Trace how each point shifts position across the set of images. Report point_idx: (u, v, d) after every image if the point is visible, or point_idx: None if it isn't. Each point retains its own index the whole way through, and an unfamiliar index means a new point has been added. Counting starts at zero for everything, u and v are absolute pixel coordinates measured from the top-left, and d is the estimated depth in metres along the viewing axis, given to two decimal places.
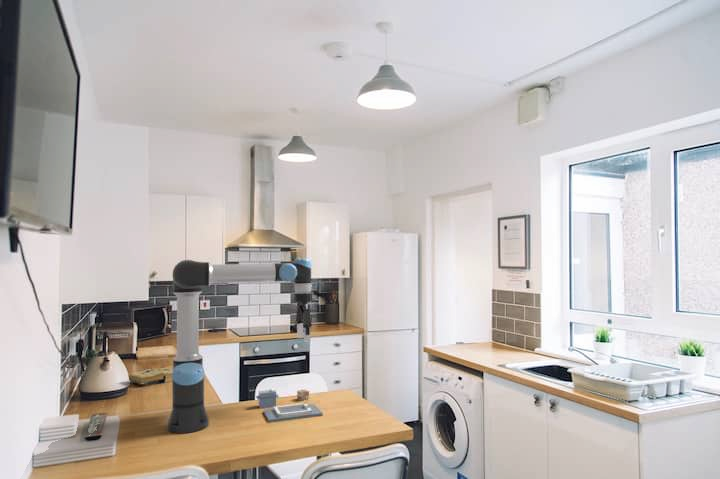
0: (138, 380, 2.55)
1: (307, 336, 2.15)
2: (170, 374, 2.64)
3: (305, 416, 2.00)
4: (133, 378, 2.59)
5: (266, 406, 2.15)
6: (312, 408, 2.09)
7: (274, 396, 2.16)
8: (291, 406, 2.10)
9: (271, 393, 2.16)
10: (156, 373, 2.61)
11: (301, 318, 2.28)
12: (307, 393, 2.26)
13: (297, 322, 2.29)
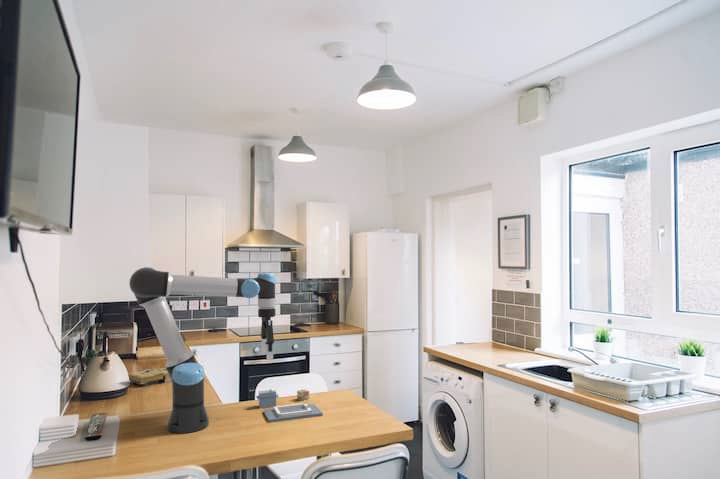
0: (138, 380, 2.55)
1: (270, 353, 2.11)
2: None
3: (305, 416, 2.00)
4: (133, 378, 2.59)
5: (266, 406, 2.15)
6: (312, 408, 2.09)
7: (274, 396, 2.16)
8: (291, 406, 2.10)
9: (271, 393, 2.16)
10: (156, 373, 2.60)
11: (266, 333, 2.23)
12: (307, 393, 2.26)
13: (262, 337, 2.24)
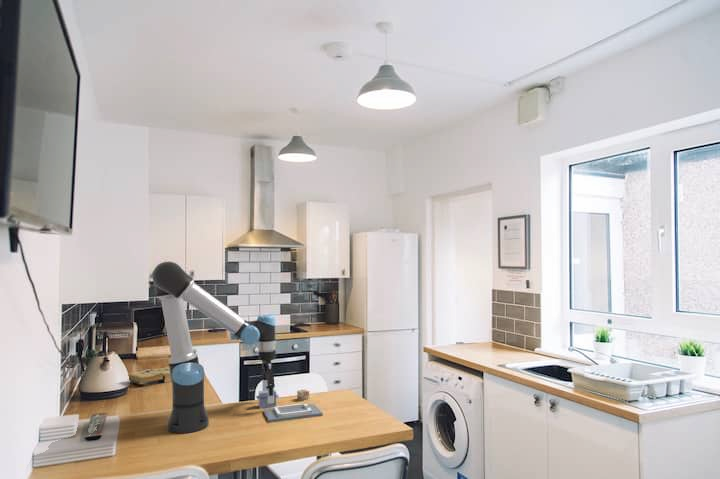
0: (138, 380, 2.54)
1: (271, 397, 2.11)
2: None
3: (305, 416, 2.00)
4: (133, 378, 2.59)
5: (266, 406, 2.15)
6: (312, 408, 2.09)
7: (274, 396, 2.16)
8: (291, 406, 2.10)
9: None
10: (156, 373, 2.60)
11: (266, 375, 2.23)
12: (307, 393, 2.26)
13: (262, 379, 2.24)
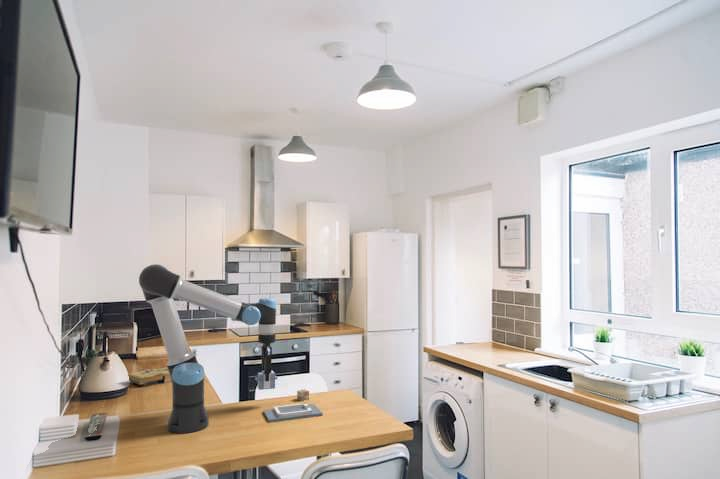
0: (137, 380, 2.54)
1: (267, 382, 2.15)
2: (169, 374, 2.63)
3: (305, 416, 2.00)
4: (132, 378, 2.58)
5: None
6: (312, 408, 2.09)
7: (273, 378, 2.16)
8: (291, 406, 2.10)
9: (270, 375, 2.16)
10: (155, 373, 2.60)
11: None
12: (307, 393, 2.26)
13: (262, 368, 2.20)
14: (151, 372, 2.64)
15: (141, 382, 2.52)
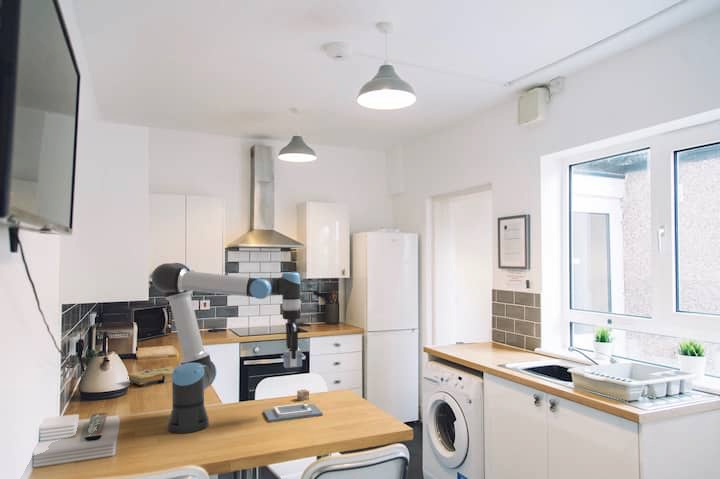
0: (137, 380, 2.54)
1: (293, 360, 2.04)
2: (169, 374, 2.63)
3: (305, 416, 2.00)
4: (132, 378, 2.58)
5: None
6: (312, 408, 2.09)
7: (300, 355, 2.06)
8: (291, 406, 2.10)
9: (297, 352, 2.05)
10: (155, 373, 2.60)
11: None
12: (307, 393, 2.26)
13: (287, 346, 2.09)
14: (151, 372, 2.63)
15: (141, 382, 2.52)
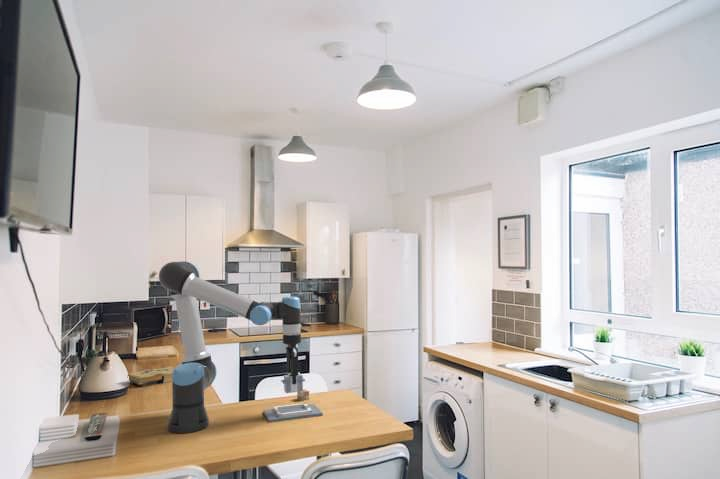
0: (136, 380, 2.54)
1: (294, 385, 2.04)
2: (169, 374, 2.63)
3: (305, 416, 2.00)
4: (132, 378, 2.58)
5: None
6: (312, 408, 2.09)
7: (300, 380, 2.05)
8: (291, 406, 2.10)
9: (297, 377, 2.05)
10: (155, 373, 2.60)
11: None
12: (307, 393, 2.26)
13: (288, 371, 2.08)
14: (150, 372, 2.63)
15: (140, 382, 2.52)
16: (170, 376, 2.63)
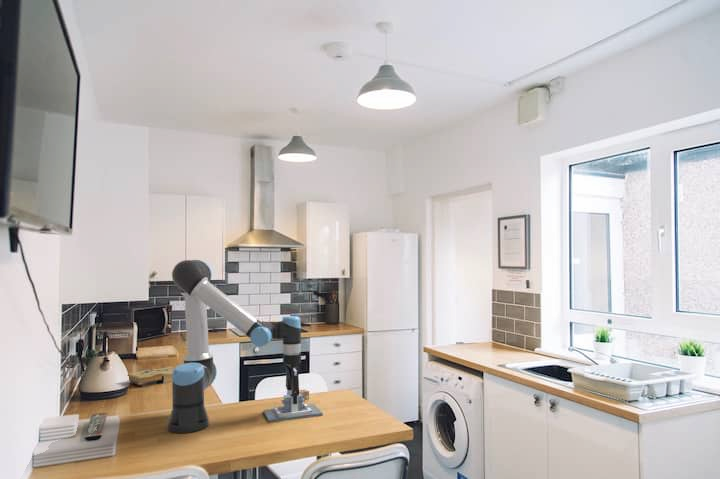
0: (136, 380, 2.54)
1: (294, 405, 2.02)
2: (169, 375, 2.63)
3: (305, 416, 2.00)
4: (132, 378, 2.58)
5: None
6: (312, 408, 2.09)
7: (300, 400, 2.05)
8: None
9: None
10: (154, 373, 2.60)
11: (291, 383, 2.09)
12: (307, 393, 2.26)
13: (287, 388, 2.10)
14: (150, 372, 2.63)
15: (140, 382, 2.52)
16: (170, 376, 2.63)
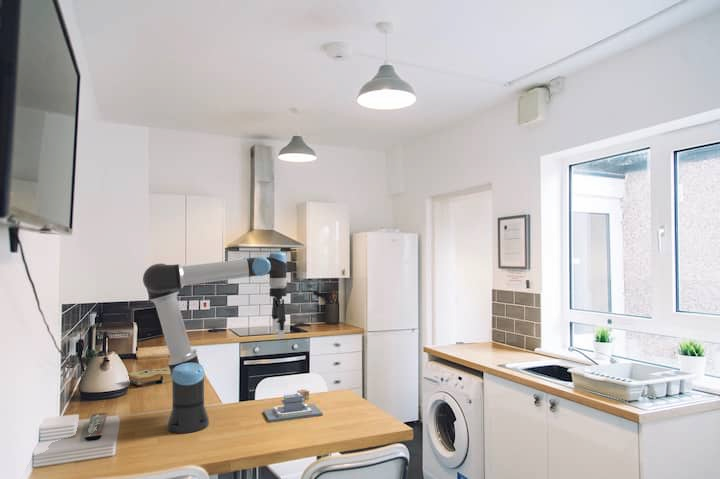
0: (135, 380, 2.54)
1: (281, 331, 2.12)
2: (168, 375, 2.62)
3: (305, 416, 2.00)
4: (131, 378, 2.58)
5: (292, 411, 2.04)
6: (312, 408, 2.09)
7: (300, 400, 2.05)
8: None
9: (297, 397, 2.05)
10: (153, 374, 2.59)
11: (277, 313, 2.25)
12: (307, 393, 2.26)
13: (273, 317, 2.25)
14: (149, 372, 2.63)
15: (138, 382, 2.52)
16: (169, 376, 2.63)
